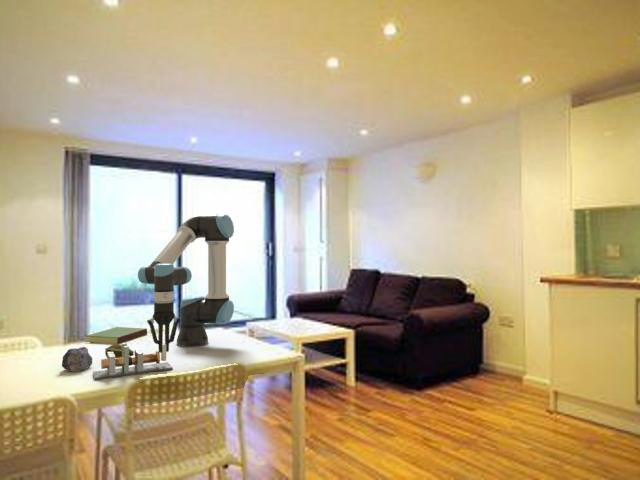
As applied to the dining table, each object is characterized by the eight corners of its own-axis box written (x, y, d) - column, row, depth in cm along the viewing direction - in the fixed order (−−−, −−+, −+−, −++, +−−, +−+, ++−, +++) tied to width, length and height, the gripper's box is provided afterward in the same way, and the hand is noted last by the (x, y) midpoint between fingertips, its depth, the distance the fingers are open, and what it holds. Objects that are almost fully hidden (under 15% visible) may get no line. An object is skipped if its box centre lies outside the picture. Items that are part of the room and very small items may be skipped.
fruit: (104, 365, 190) (104, 349, 190) (104, 358, 201) (105, 343, 201) (134, 362, 194) (134, 346, 194) (133, 355, 205) (133, 341, 205)
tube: (101, 369, 176) (101, 355, 176) (157, 362, 187) (157, 349, 187) (102, 372, 172) (102, 358, 172) (159, 365, 182) (159, 352, 182)
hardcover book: (118, 345, 228) (118, 337, 228) (85, 343, 232) (85, 335, 232) (147, 335, 252) (147, 328, 252) (117, 333, 256) (117, 326, 256)
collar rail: (92, 374, 176) (93, 345, 177) (167, 364, 190) (167, 338, 190) (94, 380, 169) (94, 350, 169) (172, 370, 183) (172, 342, 183)
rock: (67, 359, 189) (76, 339, 187) (90, 370, 189) (99, 351, 187) (51, 371, 178) (61, 351, 176) (76, 383, 179) (86, 363, 177)
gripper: (148, 304, 179) (148, 364, 179) (182, 301, 185) (182, 360, 185) (145, 301, 185) (145, 360, 185) (178, 299, 192) (177, 356, 192)
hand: (163, 360), depth 185 cm, fingers closed
